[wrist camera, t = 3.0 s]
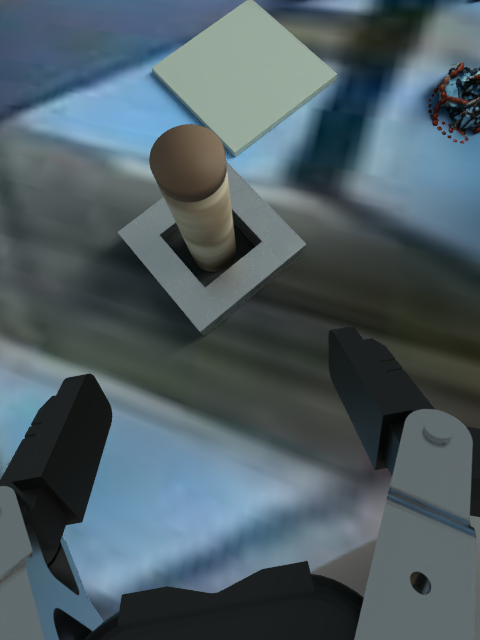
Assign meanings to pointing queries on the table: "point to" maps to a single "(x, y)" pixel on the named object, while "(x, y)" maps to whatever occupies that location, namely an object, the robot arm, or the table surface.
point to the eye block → (235, 283)
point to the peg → (197, 192)
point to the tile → (244, 76)
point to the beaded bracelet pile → (460, 100)
